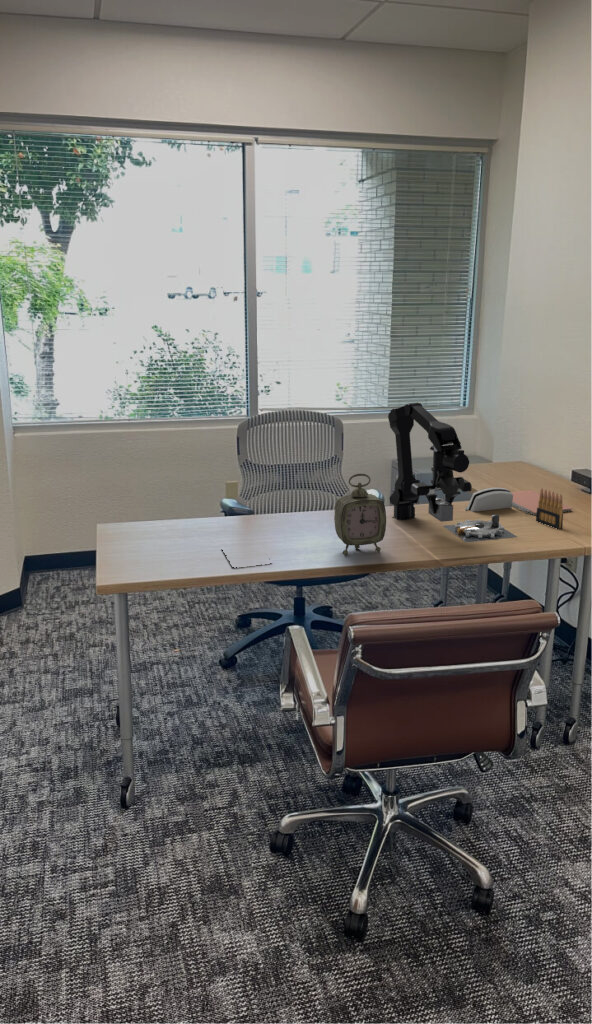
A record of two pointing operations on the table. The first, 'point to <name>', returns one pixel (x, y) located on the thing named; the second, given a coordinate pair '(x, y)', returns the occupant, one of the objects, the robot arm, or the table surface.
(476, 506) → the grey half-round block
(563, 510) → the notebook
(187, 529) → the table surface
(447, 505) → the chain link
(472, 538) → the base plate
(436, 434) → the robot arm
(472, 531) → the sprocket wheel
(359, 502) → the tabletop clock
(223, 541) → the table surface
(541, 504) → the ammunition clip
